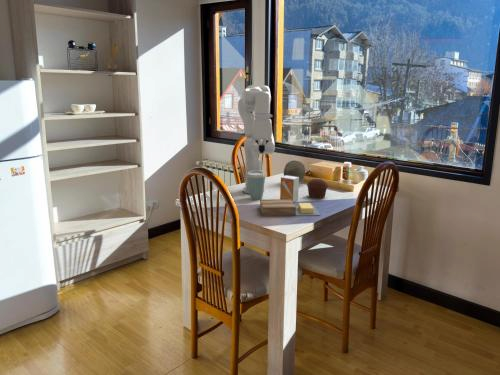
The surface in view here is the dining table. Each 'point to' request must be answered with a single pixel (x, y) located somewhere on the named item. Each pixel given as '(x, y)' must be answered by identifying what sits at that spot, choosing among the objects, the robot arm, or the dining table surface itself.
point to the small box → (289, 188)
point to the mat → (307, 213)
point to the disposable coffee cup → (256, 184)
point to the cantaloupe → (295, 169)
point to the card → (306, 208)
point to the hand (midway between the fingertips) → (261, 152)
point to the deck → (277, 207)
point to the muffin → (317, 188)
